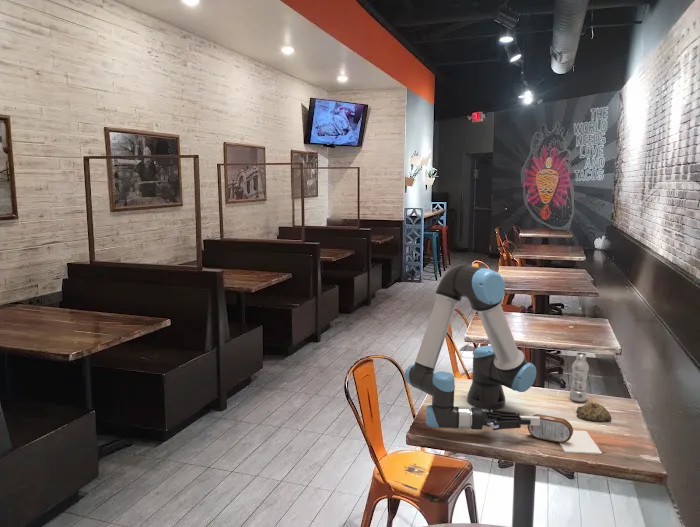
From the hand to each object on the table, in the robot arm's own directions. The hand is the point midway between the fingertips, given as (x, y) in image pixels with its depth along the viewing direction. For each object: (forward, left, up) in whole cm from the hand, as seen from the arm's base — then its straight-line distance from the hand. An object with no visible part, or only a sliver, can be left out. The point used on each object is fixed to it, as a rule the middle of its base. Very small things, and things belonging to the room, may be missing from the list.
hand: (539, 421), depth 193 cm
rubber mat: (+13, +1, -7) cm, 15 cm away
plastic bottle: (+25, +38, -8) cm, 46 cm away
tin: (+4, +1, -7) cm, 8 cm away
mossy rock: (+26, +24, -8) cm, 36 cm away
